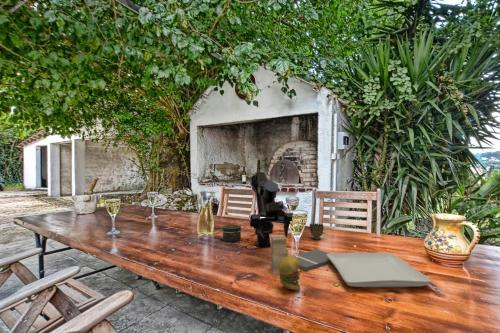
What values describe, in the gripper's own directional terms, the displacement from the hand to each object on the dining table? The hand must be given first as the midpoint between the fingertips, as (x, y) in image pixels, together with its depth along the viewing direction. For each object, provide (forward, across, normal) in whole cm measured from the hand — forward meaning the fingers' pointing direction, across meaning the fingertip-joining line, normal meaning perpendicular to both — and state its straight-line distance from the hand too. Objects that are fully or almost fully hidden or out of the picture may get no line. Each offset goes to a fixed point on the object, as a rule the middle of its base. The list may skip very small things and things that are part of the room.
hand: (275, 237), depth 110 cm
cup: (-16, +30, +33) cm, 48 cm away
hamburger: (+23, 0, -6) cm, 24 cm away
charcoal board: (+6, +16, +10) cm, 20 cm away
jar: (-21, -15, +37) cm, 45 cm away
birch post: (+12, 0, +5) cm, 13 cm away
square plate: (+18, +33, -2) cm, 38 cm away
